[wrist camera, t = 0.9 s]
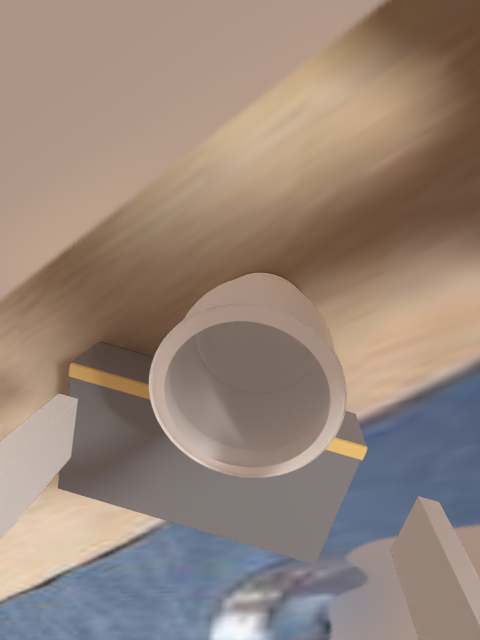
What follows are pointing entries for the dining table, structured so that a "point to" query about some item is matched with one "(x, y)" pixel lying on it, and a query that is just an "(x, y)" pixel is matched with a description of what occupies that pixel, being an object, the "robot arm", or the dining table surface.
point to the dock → (194, 466)
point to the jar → (250, 379)
